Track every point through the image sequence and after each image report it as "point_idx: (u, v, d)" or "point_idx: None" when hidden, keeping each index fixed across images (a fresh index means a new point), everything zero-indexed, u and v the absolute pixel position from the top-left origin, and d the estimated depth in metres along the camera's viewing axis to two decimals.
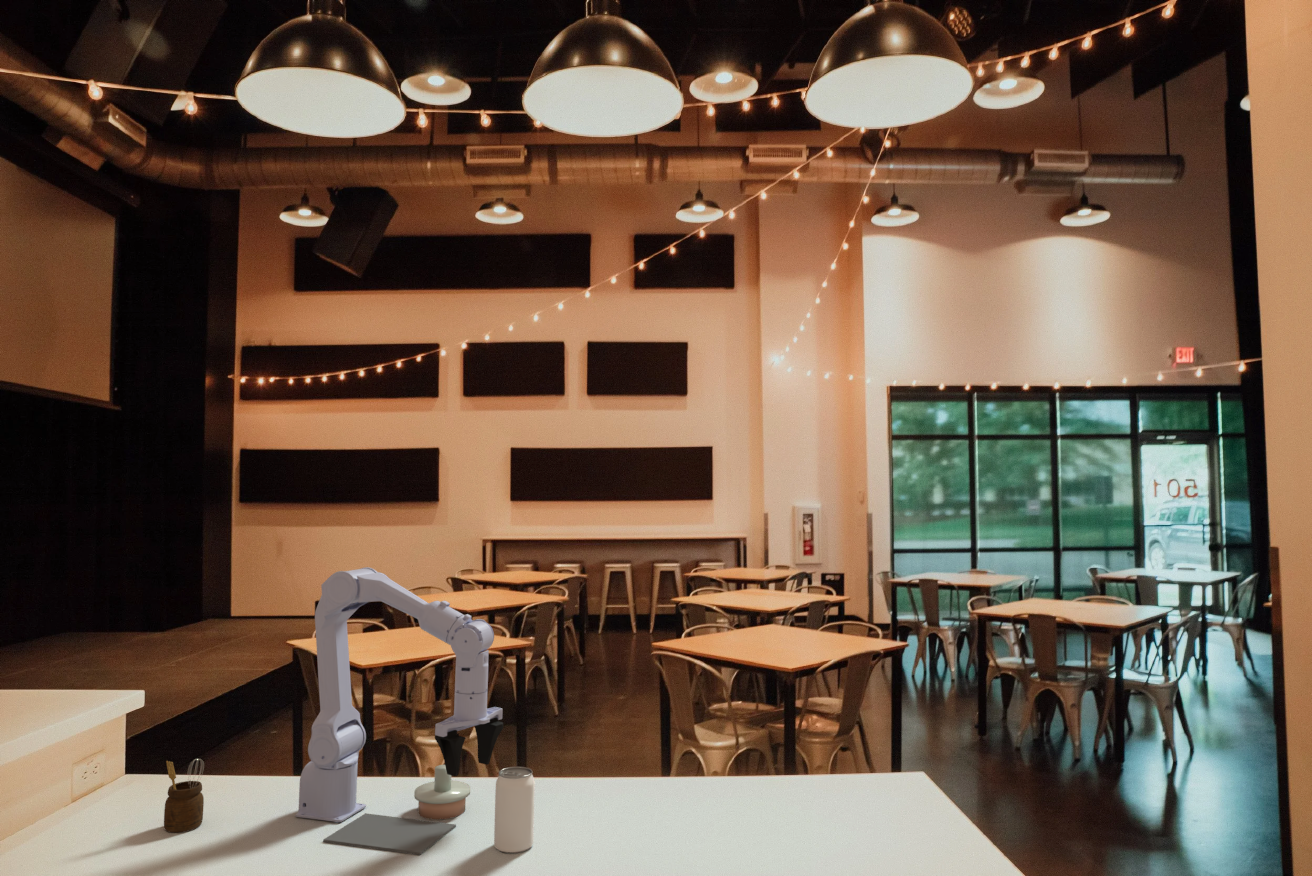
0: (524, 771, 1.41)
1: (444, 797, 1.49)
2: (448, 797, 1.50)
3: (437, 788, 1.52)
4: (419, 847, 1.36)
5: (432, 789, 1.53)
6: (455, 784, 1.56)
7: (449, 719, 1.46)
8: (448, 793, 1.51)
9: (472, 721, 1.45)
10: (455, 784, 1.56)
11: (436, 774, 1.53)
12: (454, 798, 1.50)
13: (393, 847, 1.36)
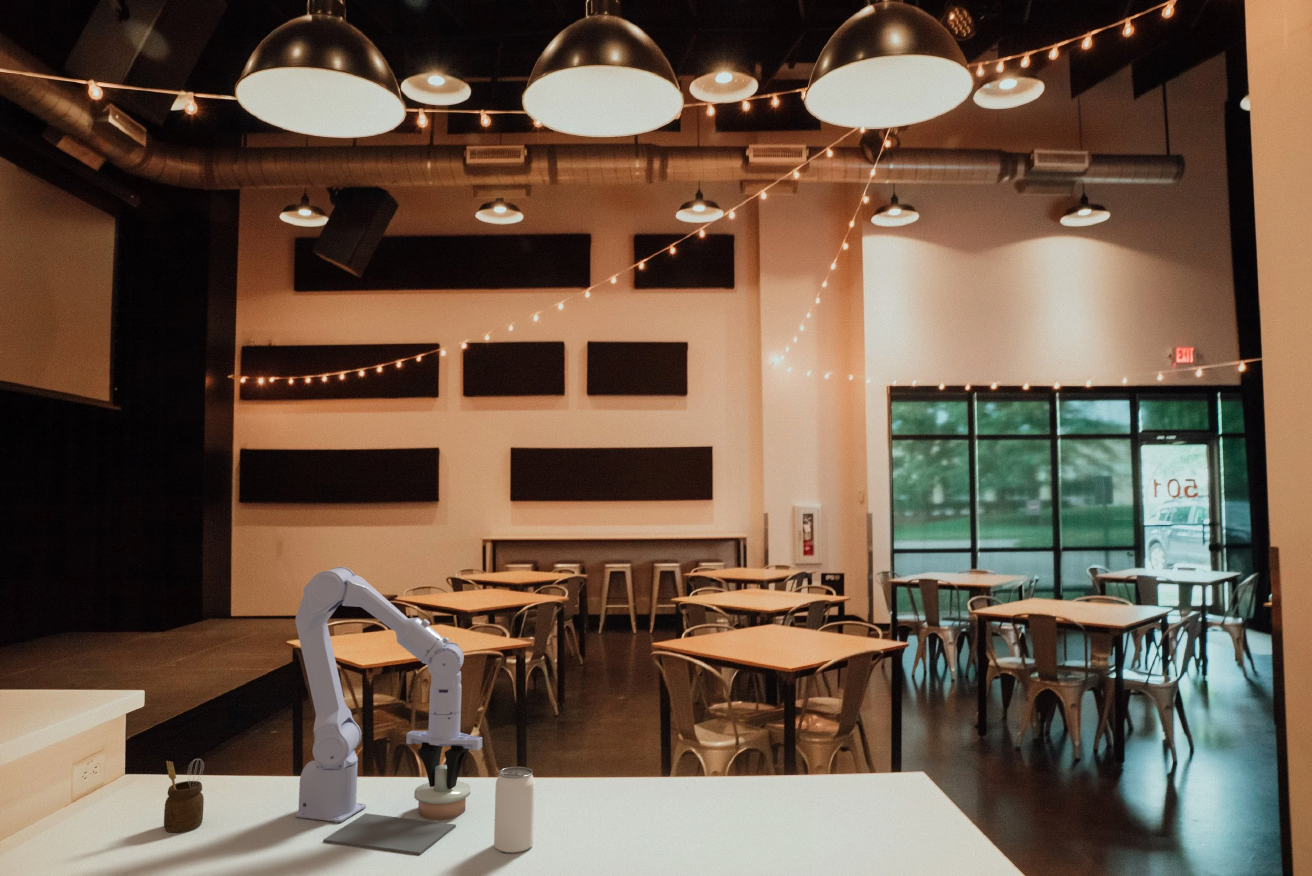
0: (524, 771, 1.41)
1: (444, 797, 1.49)
2: (448, 797, 1.50)
3: (437, 788, 1.52)
4: (419, 847, 1.36)
5: (432, 789, 1.53)
6: None
7: None
8: (448, 793, 1.51)
9: (427, 739, 1.52)
10: None
11: (436, 774, 1.53)
12: (454, 798, 1.50)
13: (393, 847, 1.36)
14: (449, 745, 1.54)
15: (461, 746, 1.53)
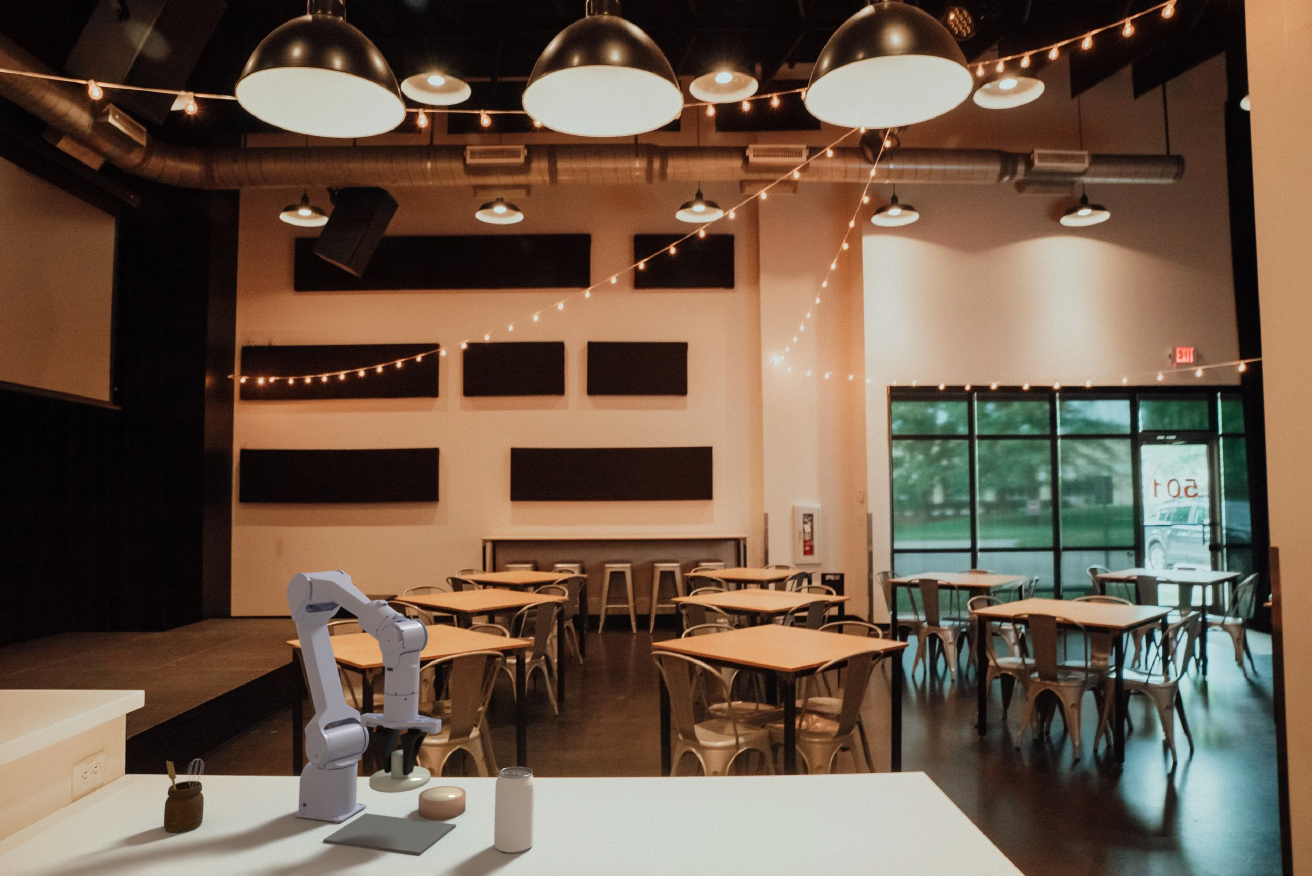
0: (524, 771, 1.41)
1: (400, 785, 1.39)
2: (404, 785, 1.39)
3: (393, 775, 1.42)
4: (419, 847, 1.36)
5: (389, 776, 1.43)
6: (414, 771, 1.46)
7: None
8: (404, 781, 1.41)
9: (382, 721, 1.42)
10: (415, 770, 1.46)
11: (392, 761, 1.42)
12: (410, 786, 1.39)
13: (393, 847, 1.36)
14: (406, 728, 1.43)
15: (418, 729, 1.42)
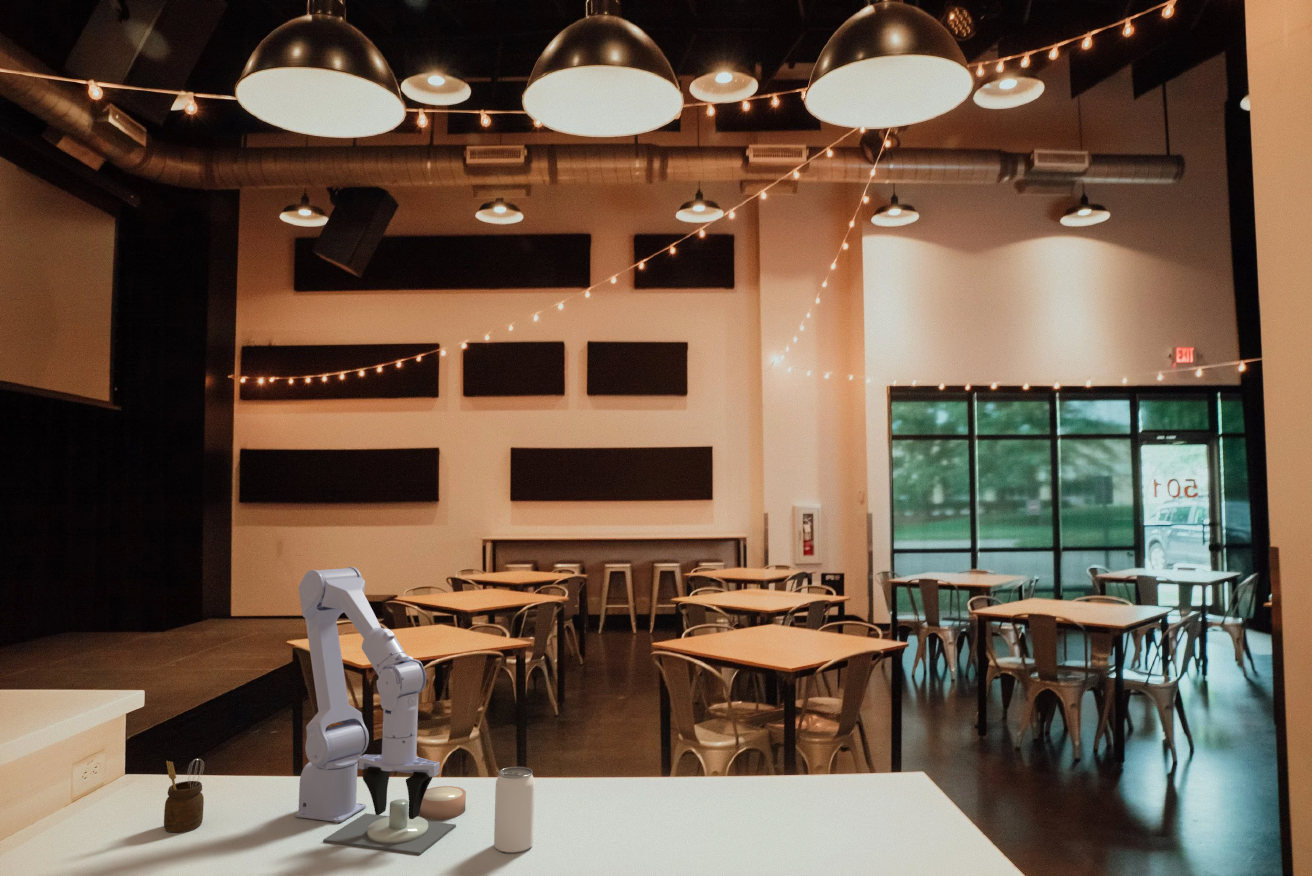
0: (524, 771, 1.41)
1: (398, 836, 1.39)
2: (402, 836, 1.39)
3: (392, 825, 1.41)
4: (419, 847, 1.36)
5: (387, 826, 1.43)
6: (412, 821, 1.45)
7: None
8: (402, 832, 1.40)
9: (380, 764, 1.41)
10: (413, 820, 1.46)
11: (390, 810, 1.42)
12: (408, 837, 1.39)
13: (393, 847, 1.36)
14: (404, 771, 1.42)
15: (417, 772, 1.41)
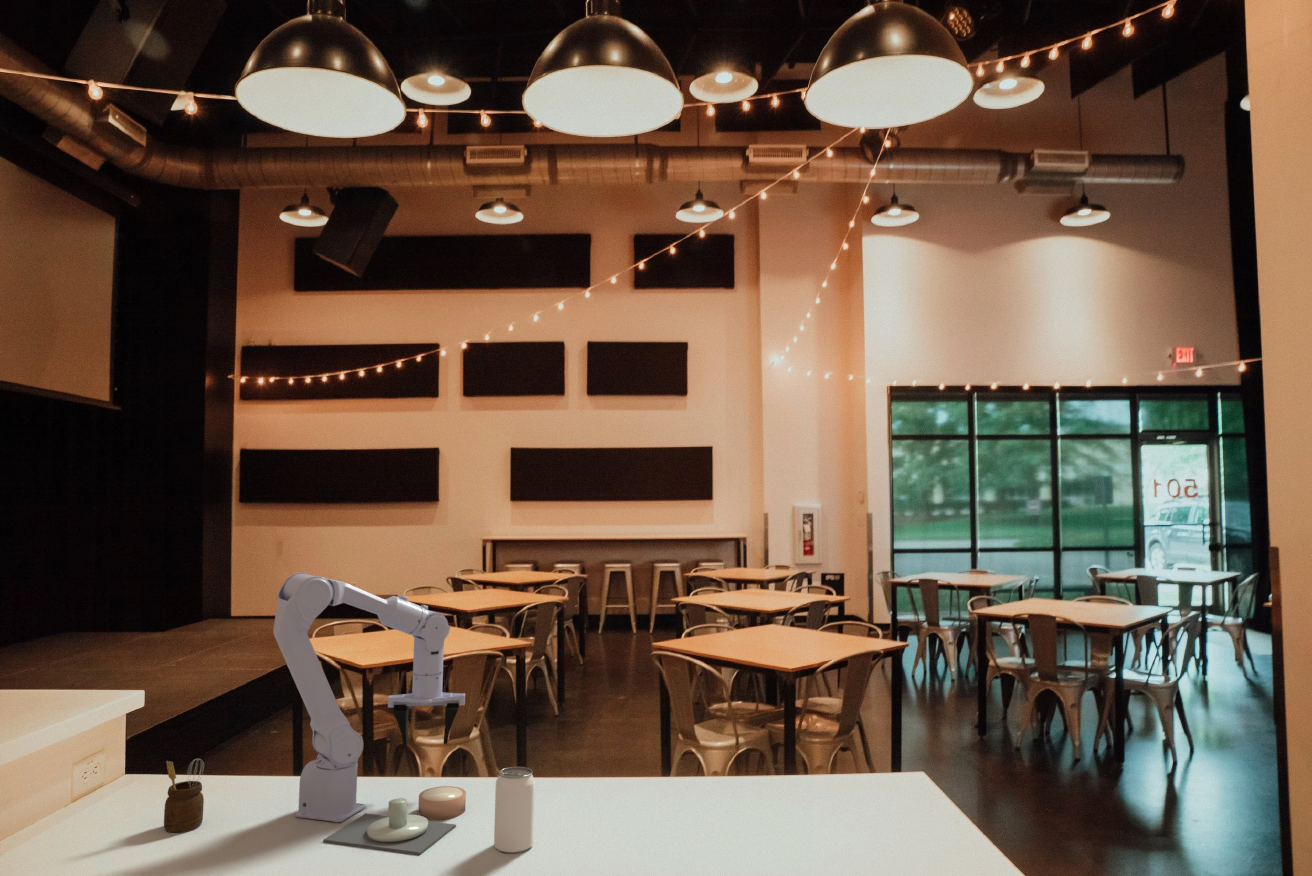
0: (524, 771, 1.41)
1: (390, 835, 1.38)
2: (394, 835, 1.38)
3: (390, 824, 1.42)
4: (419, 847, 1.36)
5: (388, 824, 1.43)
6: (414, 820, 1.45)
7: (411, 694, 1.65)
8: (398, 831, 1.40)
9: (415, 699, 1.61)
10: (416, 819, 1.45)
11: None
12: (400, 836, 1.38)
13: (393, 847, 1.36)
14: (433, 704, 1.64)
15: (446, 703, 1.64)
